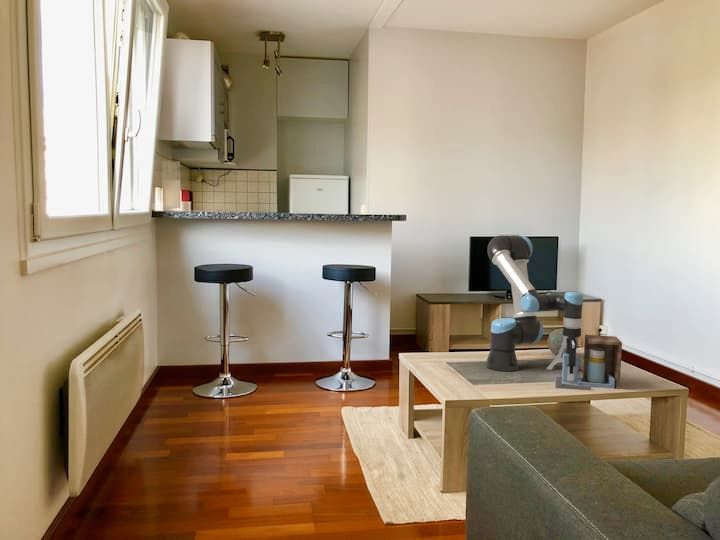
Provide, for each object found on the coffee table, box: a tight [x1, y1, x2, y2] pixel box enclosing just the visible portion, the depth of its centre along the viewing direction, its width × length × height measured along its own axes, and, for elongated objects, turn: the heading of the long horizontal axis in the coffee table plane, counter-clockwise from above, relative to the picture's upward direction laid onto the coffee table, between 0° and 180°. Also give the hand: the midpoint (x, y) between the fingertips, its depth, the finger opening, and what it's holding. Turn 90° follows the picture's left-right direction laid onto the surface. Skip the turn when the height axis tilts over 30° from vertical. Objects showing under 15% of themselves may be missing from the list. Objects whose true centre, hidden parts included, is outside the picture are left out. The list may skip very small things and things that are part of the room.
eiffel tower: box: [545, 336, 583, 371], centre depth 282 cm, size 13×13×30 cm
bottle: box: [586, 348, 605, 384], centre depth 259 cm, size 7×7×15 cm
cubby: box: [582, 334, 623, 390], centre depth 258 cm, size 13×13×20 cm
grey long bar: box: [554, 374, 592, 391], centre depth 251 cm, size 14×2×5 cm, turn 77°
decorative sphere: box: [546, 327, 579, 356], centre depth 308 cm, size 15×15×15 cm
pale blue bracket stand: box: [561, 353, 615, 389], centre depth 258 cm, size 20×10×12 cm, turn 77°
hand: (569, 378), depth 261 cm, fingers open, 6 cm apart
